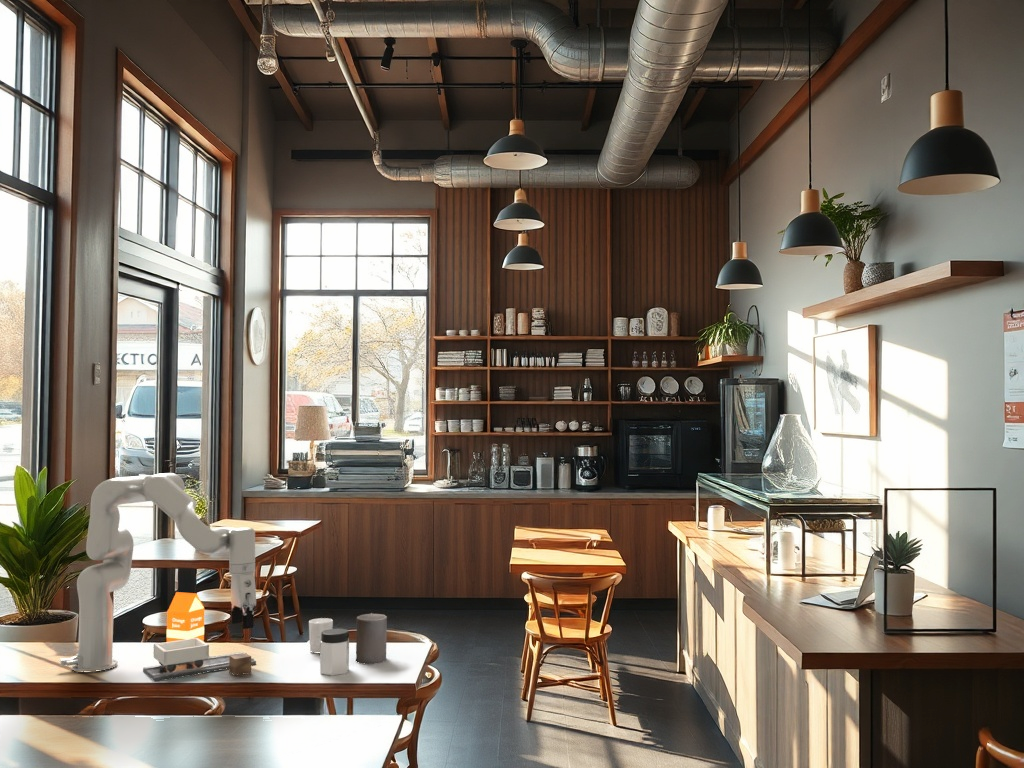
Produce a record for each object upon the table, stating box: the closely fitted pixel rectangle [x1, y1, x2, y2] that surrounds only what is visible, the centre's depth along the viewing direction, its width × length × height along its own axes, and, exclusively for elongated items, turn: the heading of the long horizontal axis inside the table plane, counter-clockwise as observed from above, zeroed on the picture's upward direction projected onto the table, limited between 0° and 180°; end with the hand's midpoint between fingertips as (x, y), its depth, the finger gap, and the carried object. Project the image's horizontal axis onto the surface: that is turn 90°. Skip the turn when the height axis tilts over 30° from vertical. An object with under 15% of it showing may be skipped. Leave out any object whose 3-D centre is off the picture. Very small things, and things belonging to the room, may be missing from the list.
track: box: [142, 651, 257, 682], centre depth 257 cm, size 30×14×1 cm, turn 127°
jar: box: [319, 628, 350, 677], centre depth 252 cm, size 9×8×12 cm
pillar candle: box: [355, 612, 388, 665], centre depth 265 cm, size 10×10×15 cm
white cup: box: [308, 617, 334, 653], centre depth 276 cm, size 8×8×10 cm
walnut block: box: [228, 652, 252, 676], centre depth 251 cm, size 5×5×5 cm
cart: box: [153, 638, 210, 672], centre depth 253 cm, size 13×12×6 cm
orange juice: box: [166, 591, 205, 642], centre depth 274 cm, size 8×9×20 cm
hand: (242, 625), depth 252 cm, fingers open, 9 cm apart
